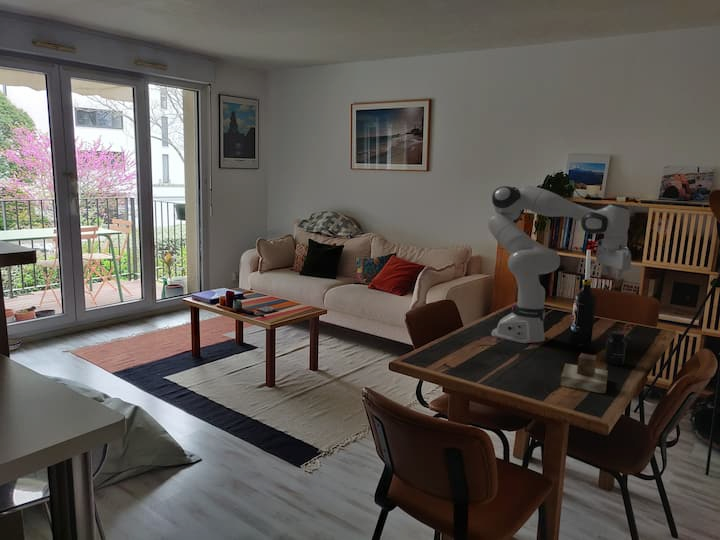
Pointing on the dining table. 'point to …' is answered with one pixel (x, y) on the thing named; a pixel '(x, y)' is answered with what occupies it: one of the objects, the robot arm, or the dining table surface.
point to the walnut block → (586, 364)
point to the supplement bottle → (615, 349)
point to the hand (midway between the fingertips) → (611, 277)
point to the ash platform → (584, 379)
